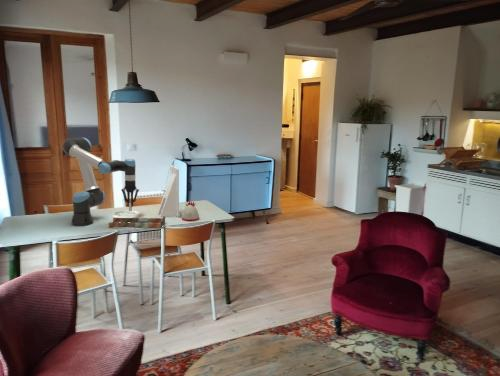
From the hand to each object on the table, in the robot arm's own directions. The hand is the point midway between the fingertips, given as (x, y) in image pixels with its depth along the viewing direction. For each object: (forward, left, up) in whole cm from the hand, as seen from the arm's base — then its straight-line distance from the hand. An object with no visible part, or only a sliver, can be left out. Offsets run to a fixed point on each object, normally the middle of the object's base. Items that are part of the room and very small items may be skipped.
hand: (130, 210), depth 306 cm
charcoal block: (+9, 0, -11) cm, 15 cm away
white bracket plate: (+24, +29, -11) cm, 39 cm away
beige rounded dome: (+44, +18, -11) cm, 48 cm away
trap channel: (+5, 0, -11) cm, 12 cm away
